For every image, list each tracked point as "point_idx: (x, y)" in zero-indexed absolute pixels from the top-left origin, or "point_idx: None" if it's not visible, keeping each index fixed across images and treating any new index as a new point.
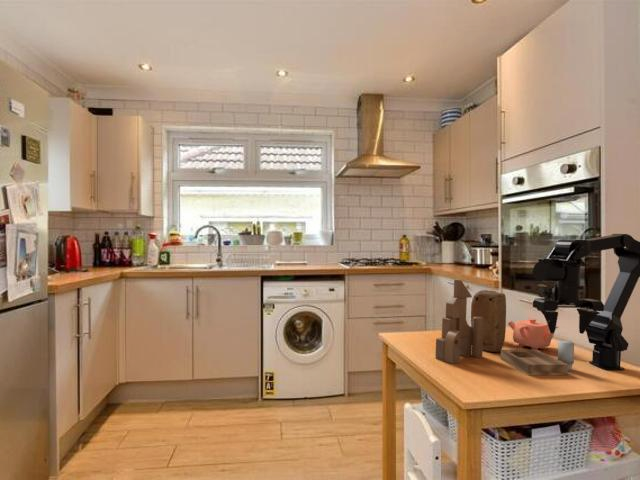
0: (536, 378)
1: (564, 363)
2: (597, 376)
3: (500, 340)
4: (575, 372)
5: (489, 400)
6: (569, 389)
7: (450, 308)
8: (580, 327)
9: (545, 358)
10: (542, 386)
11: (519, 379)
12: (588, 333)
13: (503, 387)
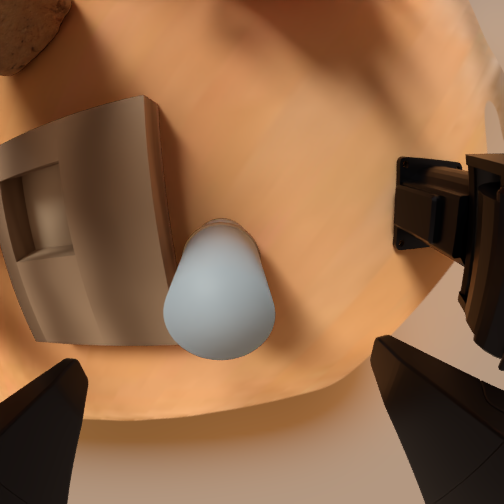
0: (71, 344)
1: None
2: (304, 317)
3: (9, 46)
4: None
5: None
6: (136, 404)
7: None
8: (400, 381)
9: (111, 268)
10: None
11: (33, 346)
12: (489, 214)
13: (13, 377)
